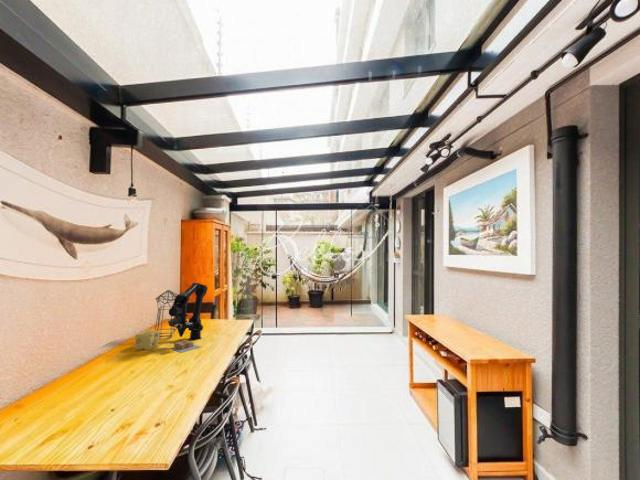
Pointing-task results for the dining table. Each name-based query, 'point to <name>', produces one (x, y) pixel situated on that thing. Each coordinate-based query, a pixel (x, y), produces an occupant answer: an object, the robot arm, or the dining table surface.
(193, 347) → the grey mat
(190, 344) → the walnut slab
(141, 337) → the cheese
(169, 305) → the geometric lantern
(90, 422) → the dining table surface
